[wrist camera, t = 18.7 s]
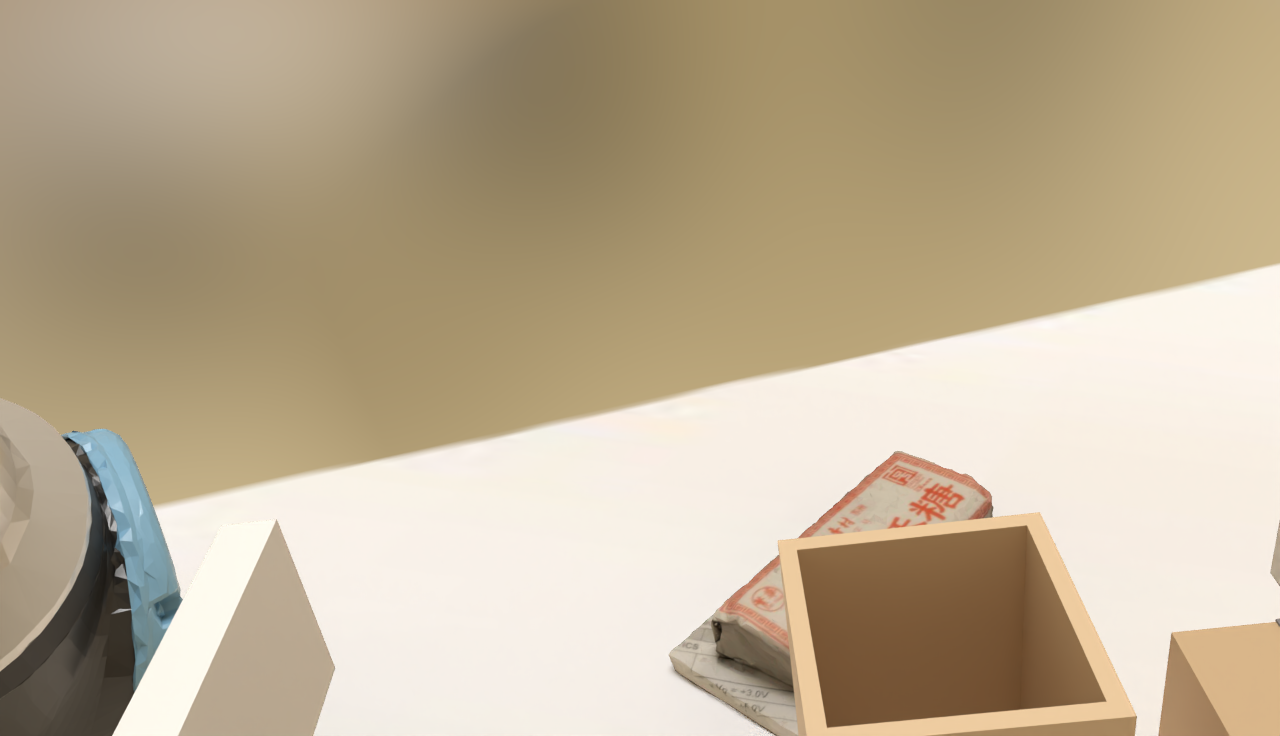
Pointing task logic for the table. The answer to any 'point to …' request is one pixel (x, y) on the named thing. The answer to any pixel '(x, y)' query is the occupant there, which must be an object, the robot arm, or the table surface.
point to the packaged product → (755, 615)
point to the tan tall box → (945, 635)
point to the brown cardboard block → (1223, 682)
